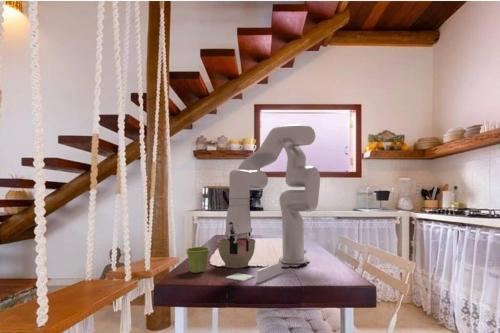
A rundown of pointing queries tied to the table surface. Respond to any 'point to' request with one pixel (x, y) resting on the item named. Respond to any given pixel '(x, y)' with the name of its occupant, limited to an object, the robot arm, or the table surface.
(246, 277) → the pad
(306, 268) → the table surface
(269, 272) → the low wall
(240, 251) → the small box
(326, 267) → the table surface
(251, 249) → the planter bowl
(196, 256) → the plant pot
